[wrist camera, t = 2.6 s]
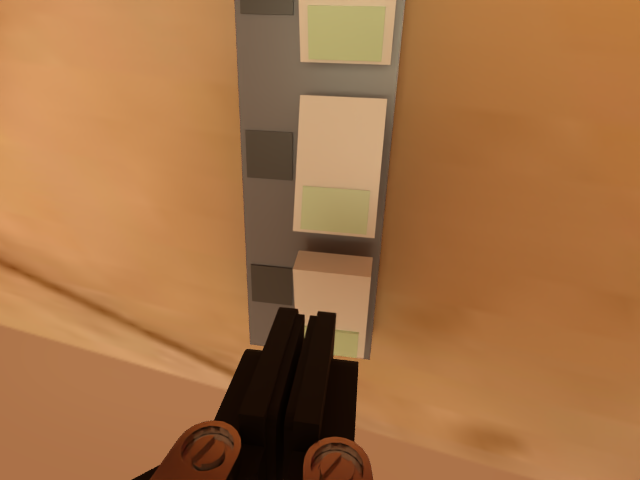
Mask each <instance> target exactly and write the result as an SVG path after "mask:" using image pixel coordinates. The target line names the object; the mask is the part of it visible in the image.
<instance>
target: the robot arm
mask: <svg viewBox="0 0 640 480" xmlns="http://www.w3.org/2000/svg"><path fill="white" fill-rule="evenodd" d="M335 327H336V313H332V312H323V311H318V312H317V316H313V315H310V317H309V321H308V325H307V329H306V333H305V337H304V330H305V315H304V314H299V311H298V309H295V308H286V307H279V309H278V311H277V314H276V316H275V319H274V322H273V324H272V327H271V330H270V332H269V335H268V338H267V340H266V343H265V345H264V348H263V351H261V350H253V349H246V350H245V352H244V354H243V356H242V358H241V360H240V363H239V365H238V367H237V369H236V372H235V374H234V376H233V378H232V381H231V383H230V385H229V388H228V390H227V392H226V394H225V397H224V399H223V401H222V403H221V406H220V408H219V410H218V413H217V415H216V417H215V419H214V420H213V421H206V422H202V423H199V424H196V425H194V426H192V427H191V428H189V429H188V430H186V431H185V432H184V433H183V434H182V435H181V436H180V437H179V438H178V440H177V441H176V443H175V444H174V446H173V447H172V449H171V450H170V451H169V453H168V454H167V456H166V457H165V458H164V460H163V461H162V463H161V464H160V465H159V466H157V467H155V468H154V469H151V470H149V471H147V472H145V473H144V474H142V475H140V476H138V477H136V478H134V479H132V480H373V475H372V469H371V464H370V461H369V458H368V456H367V454H366V453H365V451H364V450H363V449H362V448H361V447H360V446H359V445H358V444H356V443H355V442H354V437H355V418H356V399H357V380H358V362H355V361H347V360H338V359H333V355H334V341H335Z"/></svg>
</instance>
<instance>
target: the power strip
mask: <svg viewBox="0 0 640 480" xmlns="http://www.w3.org/2000/svg"><path fill="white" fill-rule="evenodd" d="M404 8H405V0H396V8H395V19H394V30H393V41H392V52H391V63H390V65H375V64H346V63H317V62H300V30H299V0H235V22H236V44H237V66H238V88H239V111H240V133H241V155H242V177H243V199H244V221H245V243H246V266H247V288H248V310H249V332H250V344H251V345H259V346H264V345H265V343H266V340H267V338H268V335H269V332H270V330H271V327H272V324H273V322H274V319H275V316H276V314H277V311H278V309H279V307H286V308H295V302H294V284H293V267H294V264H295V261H296V258H297V254H298V251H299V250H300V251H311V252H321V253H332V254H342V255H353V256H363V257H373V261H372V272H371V283H370V294H369V305H368V316H367V327H366V338H365V348H364V359H369V360H370V352H371V342H372V332H373V322H374V312H375V302H376V291H377V281H378V271H379V261H380V251H381V241H382V231H383V221H384V210H385V200H386V190H387V180H388V170H389V160H390V150H391V140H392V129H393V119H394V109H395V99H396V89H397V79H398V69H399V58H400V48H401V38H402V28H403V18H404ZM300 95H313V96H335V97H357V98H379V99H387V107H386V118H385V129H384V140H383V151H382V162H381V173H380V184H379V195H378V206H377V217H376V228H375V238H366V237H355V236H344V235H332V234H321V233H310V232H299V231H293V218H294V200H295V181H296V162H297V144H298V125H299V107H300ZM361 359H363V358H361Z"/></svg>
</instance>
